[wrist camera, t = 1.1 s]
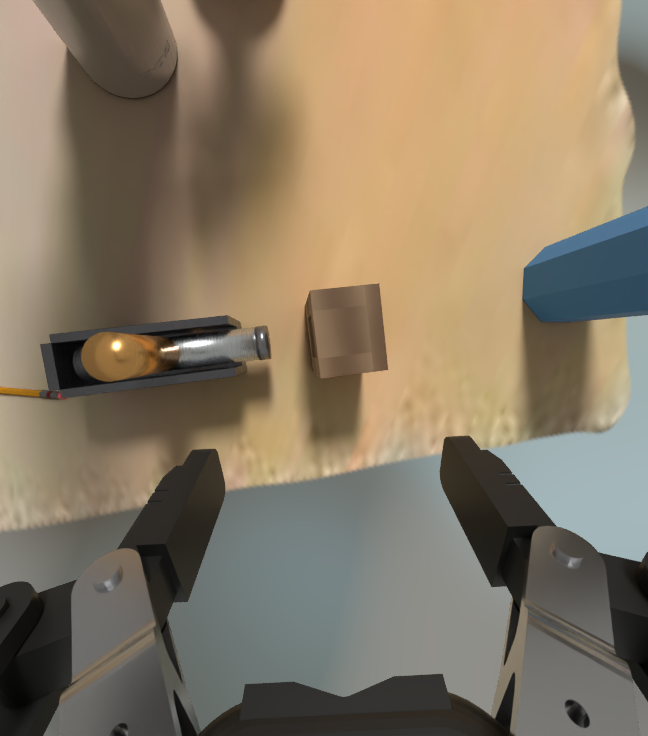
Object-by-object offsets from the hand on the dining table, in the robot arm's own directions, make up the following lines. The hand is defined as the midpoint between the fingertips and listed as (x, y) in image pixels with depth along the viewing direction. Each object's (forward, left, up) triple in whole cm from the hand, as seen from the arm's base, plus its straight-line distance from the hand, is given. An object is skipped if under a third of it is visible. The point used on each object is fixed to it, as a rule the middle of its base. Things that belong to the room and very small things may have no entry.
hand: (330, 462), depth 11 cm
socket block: (-1, +6, -23) cm, 23 cm away
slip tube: (-11, -4, -20) cm, 23 cm away
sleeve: (-13, -6, -23) cm, 27 cm away
